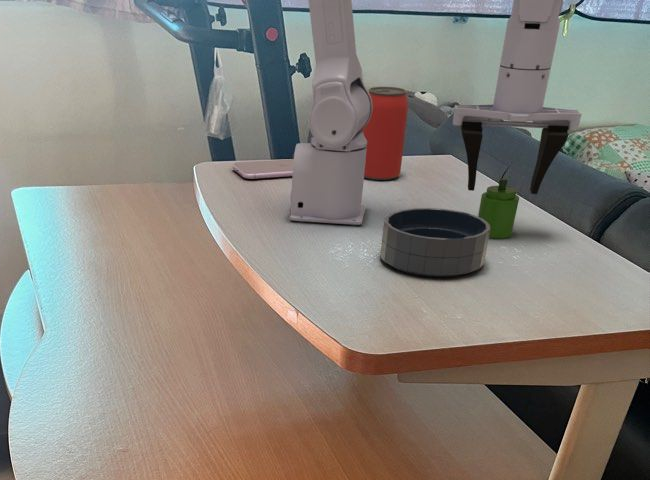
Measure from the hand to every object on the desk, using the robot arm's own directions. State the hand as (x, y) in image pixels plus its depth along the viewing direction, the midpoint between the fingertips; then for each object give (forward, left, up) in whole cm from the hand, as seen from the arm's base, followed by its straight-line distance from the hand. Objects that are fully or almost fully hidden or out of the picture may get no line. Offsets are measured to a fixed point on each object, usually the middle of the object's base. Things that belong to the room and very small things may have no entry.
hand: (502, 190), depth 104 cm
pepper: (0, 0, -5) cm, 5 cm away
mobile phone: (-31, +25, -5) cm, 40 cm away
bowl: (-8, -13, -5) cm, 16 cm away
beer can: (-16, +26, -6) cm, 31 cm away
